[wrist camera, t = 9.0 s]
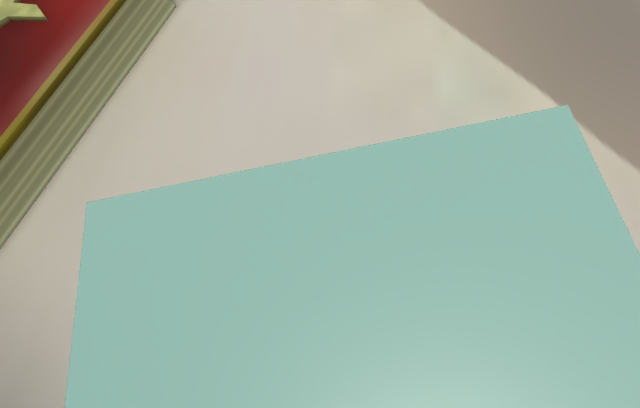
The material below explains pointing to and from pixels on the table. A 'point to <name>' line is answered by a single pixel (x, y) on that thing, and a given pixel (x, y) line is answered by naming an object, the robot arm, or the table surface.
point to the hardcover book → (60, 83)
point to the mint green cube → (368, 281)
